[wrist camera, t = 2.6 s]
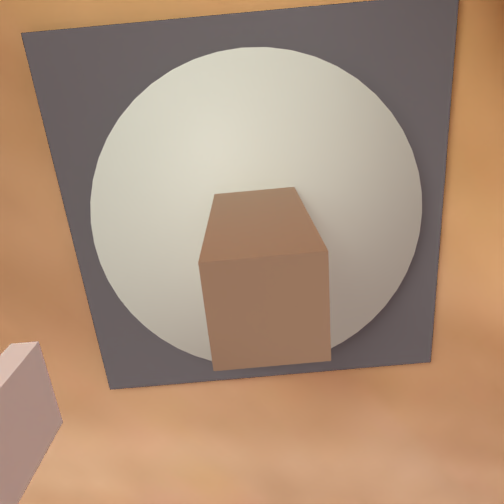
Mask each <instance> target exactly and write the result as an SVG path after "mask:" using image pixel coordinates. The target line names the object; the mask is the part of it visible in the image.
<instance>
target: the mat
mask: <svg viewBox="0 0 504 504" xmlns="http://www.w3.org/2000/svg"><path fill="white" fill-rule="evenodd" d="M458 3H459V0H374V1H363V2H353V3H342V4H331V5H320V6H309V7H298V8H288V9H277V10H266V11H255V12H244V13H233V14H222V15H212V16H201V17H190V18H179V19H168V20H157V21H147V22H136V23H125V24H114V25H103V26H92V27H82V28H71V29H60V30H49V31H38V32H27V33H21V36H22V40H23V44H24V48H25V52H26V56H27V60H28V64H29V68H30V72H31V76H32V80H33V84H34V88H35V92H36V96H37V100H38V104H39V108H40V112H41V116H42V120H43V124H44V128H45V132H46V136H47V140H48V144H49V148H50V152H51V156H52V160H53V164H54V167H55V171H56V175H57V179H58V183H59V187H60V191H61V195H62V199H63V203H64V207H65V211H66V215H67V219H68V223H69V227H70V231H71V235H72V239H73V243H74V247H75V251H76V255H77V259H78V263H79V267H80V271H81V275H82V279H83V283H84V287H85V291H86V295H87V299H88V303H89V307H90V311H91V315H92V319H93V323H94V327H95V331H96V335H97V339H98V343H99V347H100V351H101V355H102V359H103V363H104V367H105V371H106V375H107V379H108V383H109V387H110V390H111V389H122V388H134V387H146V386H157V385H169V384H181V383H192V382H204V381H216V380H227V379H239V378H251V377H262V376H274V375H286V374H297V373H309V372H321V371H332V370H344V369H356V368H367V367H379V366H391V365H402V364H414V363H426V362H431V350H432V337H433V324H434V311H435V298H436V285H437V273H438V260H439V247H440V234H441V221H442V208H443V196H444V183H445V170H446V157H447V144H448V131H449V119H450V106H451V93H452V80H453V67H454V54H455V41H456V29H457V16H458ZM243 47H271V48H279V49H287V50H293V51H297V52H300V53H304V54H308V55H311V56H315V57H317V58H320V59H322V60H324V61H327V62H329V63H331V64H333V65H336V66H338V67H339V68H341V69H343V70H344V71H346V72H347V73H349V74H351V75H352V76H354V77H355V78H357V79H358V80H360V81H361V82H362V83H363V84H364V85H365V86H367V87H368V88H369V89H370V90H371V91H372V92H374V93H375V94H376V95H377V96H378V97H379V99H380V100H381V101H382V102H383V103H384V104H385V105H386V107H387V108H388V109H389V110H390V111H391V113H392V114H393V116H394V117H395V119H396V120H397V122H398V123H399V125H400V126H401V128H402V129H403V131H404V133H405V136H406V138H407V140H408V142H409V144H410V146H411V149H412V151H413V154H414V158H415V161H416V164H417V168H418V171H419V177H420V184H421V190H422V218H421V226H420V234H419V238H418V242H417V246H416V249H415V253H414V256H413V258H412V261H411V263H410V266H409V268H408V271H407V273H406V275H405V276H404V278H403V280H402V282H401V284H400V285H399V287H398V289H397V291H396V292H395V293H394V295H393V296H392V297H391V299H390V300H389V301H388V303H387V304H386V306H385V307H384V308H383V309H382V310H381V311H380V312H379V313H378V314H377V315H376V316H375V317H374V318H373V319H372V320H371V321H370V322H369V323H368V324H367V325H365V326H364V327H363V328H362V329H361V330H359V331H358V332H357V333H356V334H354V335H353V336H351V337H350V338H348V339H347V340H345V341H344V342H342V343H340V344H338V345H336V346H334V347H332V348H331V361H324V362H313V363H301V364H290V365H279V366H267V367H256V368H245V369H233V370H222V371H214V370H213V364H212V361H210V360H207V359H204V358H200V357H197V356H194V355H192V354H190V353H187V352H185V351H183V350H180V349H178V348H176V347H175V346H173V345H171V344H169V343H168V342H166V341H164V340H163V339H161V338H159V337H158V336H157V335H156V334H154V333H153V332H152V331H150V330H149V329H148V328H146V327H145V326H144V325H143V324H142V323H141V322H140V321H139V320H138V319H137V318H136V317H135V316H134V315H133V314H131V312H130V311H129V310H128V309H127V307H126V306H125V305H124V304H123V302H122V301H121V300H120V299H119V297H118V296H117V294H116V293H115V291H114V289H113V288H112V286H111V284H110V283H109V281H108V279H107V277H106V275H105V272H104V270H103V268H102V266H101V264H100V261H99V258H98V254H97V251H96V248H95V244H94V239H93V233H92V227H91V209H90V200H91V191H92V183H93V177H94V174H95V170H96V166H97V162H98V158H99V156H100V154H101V151H102V149H103V147H104V144H105V142H106V139H107V137H108V136H109V134H110V132H111V131H112V129H113V127H114V126H115V124H116V122H117V121H118V119H119V117H120V116H121V115H122V114H123V113H124V111H125V110H126V109H127V108H128V106H129V105H130V104H131V103H132V102H133V100H134V99H135V98H136V97H138V96H139V95H140V94H141V93H142V92H143V91H144V90H145V89H146V88H147V87H148V86H150V85H151V84H152V83H153V82H155V81H156V80H158V79H159V78H161V77H162V76H164V75H165V74H166V73H168V72H169V71H171V70H173V69H175V68H177V67H179V66H181V65H183V64H185V63H187V62H189V61H191V60H193V59H196V58H199V57H202V56H205V55H208V54H212V53H215V52H218V51H224V50H230V49H236V48H243Z"/></svg>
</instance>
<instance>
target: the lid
mask: <svg viewBox="0 0 504 504" xmlns="http://www.w3.org/2000/svg"><path fill="white" fill-rule="evenodd" d="M90 209H91V227H92V233H93V239H94V244H95V248H96V251H97V254H98V258H99V261H100V264H101V266H102V268H103V270H104V272H105V275H106V277H107V279H108V281H109V283H110V284H111V286H112V288H113V289H114V291H115V293H116V294H117V296H118V297H119V299H120V300H121V301H122V302H123V304H124V305H125V306H126V307H127V309H128V310H129V311H130V312H131V314H133V315H134V316H135V317H136V318H137V319H138V320H139V321H140V322H141V323H142V324H143V325H144V326H145V327H146V328H148V329H149V330H150V331H152V332H153V333H154V334H156V335H157V336H158V337H159V338H161V339H163V340H164V341H166V342H168V343H169V344H171V345H173V346H175V347H176V348H178V349H180V350H183V351H185V352H187V353H190V354H192V355H194V356H197V357H200V358H204V359H207V360H210V361H212V364H213V370H214V371H222V370H233V369H245V368H256V367H267V366H279V365H290V364H301V363H313V362H324V361H331V348H332V347H334V346H336V345H338V344H340V343H342V342H344V341H345V340H347V339H348V338H350V337H351V336H353V335H354V334H356V333H357V332H358V331H359V330H361V329H362V328H363V327H364V326H365V325H367V324H368V323H369V322H370V321H371V320H372V319H373V318H374V317H375V316H376V315H377V314H378V313H379V312H380V311H381V310H382V309H383V308H384V307H385V306H386V304H387V303H388V301H389V300H390V299H391V297H392V296H393V295H394V293H395V292H396V291H397V289H398V287H399V285H400V284H401V282H402V280H403V278H404V276H405V275H406V273H407V271H408V268H409V266H410V263H411V261H412V258H413V256H414V253H415V249H416V246H417V242H418V238H419V234H420V226H421V218H422V190H421V184H420V177H419V171H418V168H417V164H416V161H415V158H414V154H413V151H412V149H411V146H410V144H409V142H408V140H407V138H406V136H405V133H404V131H403V129H402V128H401V126H400V125H399V123H398V122H397V120H396V119H395V117H394V116H393V114H392V113H391V111H390V110H389V109H388V108H387V107H386V105H385V104H384V103H383V102H382V101H381V100H380V99H379V97H378V96H377V95H376V94H375V93H374V92H372V91H371V90H370V89H369V88H368V87H367V86H365V85H364V84H363V83H362V82H361V81H360V80H358V79H357V78H355V77H354V76H352V75H351V74H349V73H347V72H346V71H344V70H343V69H341V68H339V67H338V66H336V65H333V64H331V63H329V62H327V61H324V60H322V59H320V58H317V57H315V56H311V55H308V54H304V53H300V52H297V51H293V50H287V49H279V48H271V47H243V48H236V49H230V50H224V51H218V52H215V53H212V54H208V55H205V56H202V57H199V58H196V59H193V60H191V61H189V62H187V63H185V64H183V65H181V66H179V67H177V68H175V69H173V70H171V71H169V72H168V73H166V74H165V75H164V76H162V77H161V78H159V79H158V80H156V81H155V82H153V83H152V84H151V85H150V86H148V87H147V88H146V89H145V90H144V91H143V92H142V93H141V94H140V95H139V96H138V97H136V98H135V99H134V100H133V102H132V103H131V104H130V105H129V106H128V108H127V109H126V110H125V111H124V113H123V114H122V115H121V116H120V117H119V119H118V121H117V122H116V124H115V126H114V127H113V129H112V131H111V132H110V134H109V136H108V137H107V139H106V142H105V144H104V147H103V149H102V151H101V154H100V156H99V158H98V162H97V166H96V170H95V174H94V177H93V183H92V191H91V200H90Z"/></svg>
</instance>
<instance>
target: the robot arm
mask: <svg viewBox="0 0 504 504" xmlns="http://www.w3.org/2000/svg"><path fill="white" fill-rule="evenodd" d="M62 423H63V421H62V417H61V414H60V411H59V407H58V404H57V401H56V397H55V394H54V391H53V388H52V384H51V381H50V378H49V374H48V371H47V368H46V364H45V361H44V358H43V354H42V351H41V348H40V344H39V341H37V342H24V343H12V344H10V345H9V346H8V347H7V348H6V349H5V350H4V351H3V353H2V354H1V355H0V504H18V503H19V501H20V499H21V497H22V495H23V494H24V492H25V490H26V488H27V486H28V484H29V483H30V481H31V479H32V477H33V475H34V474H35V472H36V470H37V468H38V466H39V464H40V463H41V461H42V459H43V457H44V455H45V454H46V452H47V450H48V448H49V446H50V444H51V443H52V441H53V439H54V437H55V435H56V434H57V432H58V430H59V428H60V426H61V424H62Z"/></svg>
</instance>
